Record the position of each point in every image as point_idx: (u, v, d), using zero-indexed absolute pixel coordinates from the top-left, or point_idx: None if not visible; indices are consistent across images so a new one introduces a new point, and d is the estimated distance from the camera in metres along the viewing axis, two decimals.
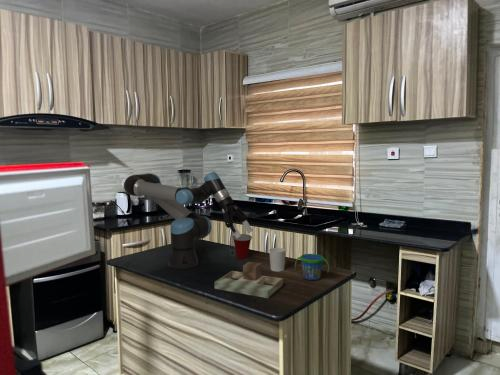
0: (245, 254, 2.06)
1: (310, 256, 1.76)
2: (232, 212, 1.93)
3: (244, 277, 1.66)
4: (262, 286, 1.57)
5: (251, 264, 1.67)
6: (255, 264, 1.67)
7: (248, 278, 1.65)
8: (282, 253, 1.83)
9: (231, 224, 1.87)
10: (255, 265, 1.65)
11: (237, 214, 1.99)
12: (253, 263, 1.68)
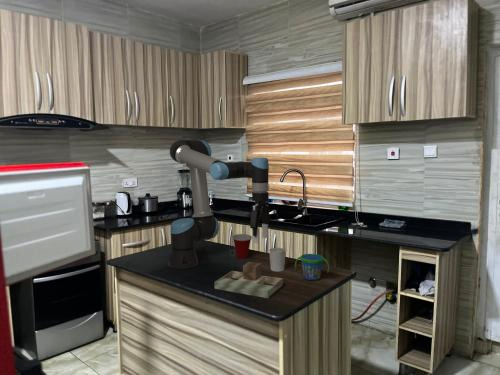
0: (245, 254, 2.06)
1: (310, 256, 1.76)
2: (262, 212, 1.70)
3: (244, 277, 1.66)
4: (262, 286, 1.57)
5: (251, 264, 1.67)
6: (255, 264, 1.67)
7: (248, 278, 1.65)
8: (282, 253, 1.83)
9: (256, 228, 1.67)
10: (255, 265, 1.65)
11: (263, 213, 1.75)
12: (253, 263, 1.68)
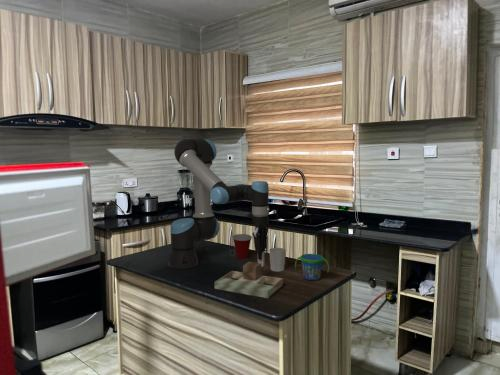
0: (245, 254, 2.06)
1: (310, 256, 1.76)
2: (263, 235, 1.72)
3: (244, 277, 1.66)
4: (262, 286, 1.57)
5: (251, 264, 1.67)
6: (255, 264, 1.67)
7: (248, 278, 1.65)
8: (282, 253, 1.83)
9: (261, 252, 1.72)
10: (255, 265, 1.65)
11: None
12: (253, 263, 1.68)
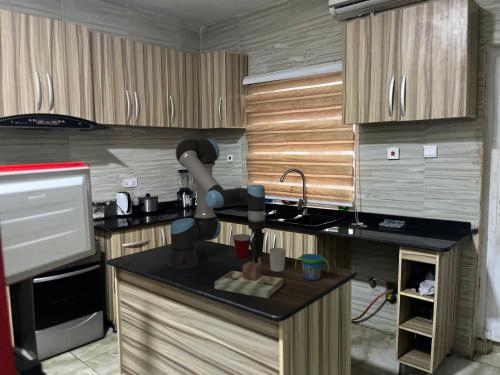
0: (245, 254, 2.06)
1: (310, 256, 1.76)
2: (259, 240, 1.68)
3: (244, 277, 1.65)
4: (262, 286, 1.57)
5: (251, 264, 1.67)
6: (255, 264, 1.66)
7: (248, 278, 1.64)
8: (282, 253, 1.83)
9: (257, 257, 1.69)
10: (255, 265, 1.65)
11: None
12: (253, 263, 1.68)
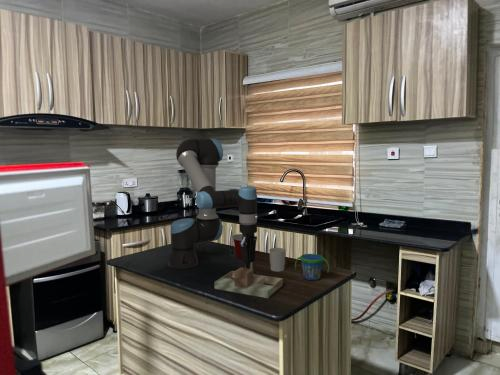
0: None
1: (310, 256, 1.76)
2: (251, 244, 1.61)
3: (235, 284, 1.57)
4: (262, 286, 1.57)
5: (242, 270, 1.59)
6: (247, 270, 1.59)
7: (239, 285, 1.57)
8: (282, 253, 1.83)
9: (249, 263, 1.61)
10: (247, 271, 1.57)
11: None
12: (245, 269, 1.60)
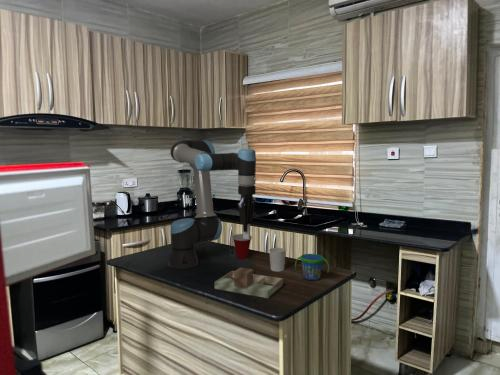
0: (245, 254, 2.06)
1: (310, 256, 1.76)
2: (249, 206, 1.63)
3: (235, 284, 1.57)
4: (262, 286, 1.57)
5: (242, 270, 1.59)
6: (247, 270, 1.59)
7: (239, 285, 1.57)
8: (282, 253, 1.83)
9: (246, 224, 1.64)
10: (247, 271, 1.57)
11: None
12: (245, 269, 1.60)
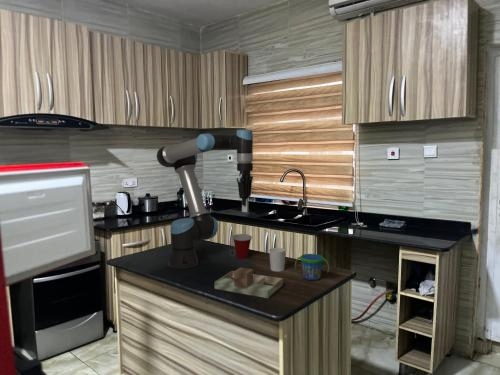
0: (245, 254, 2.06)
1: (310, 256, 1.76)
2: (247, 181, 1.79)
3: (235, 284, 1.57)
4: (262, 286, 1.57)
5: (242, 270, 1.59)
6: (247, 270, 1.59)
7: (239, 285, 1.57)
8: (282, 253, 1.83)
9: (245, 198, 1.79)
10: (247, 271, 1.57)
11: None
12: (245, 269, 1.60)
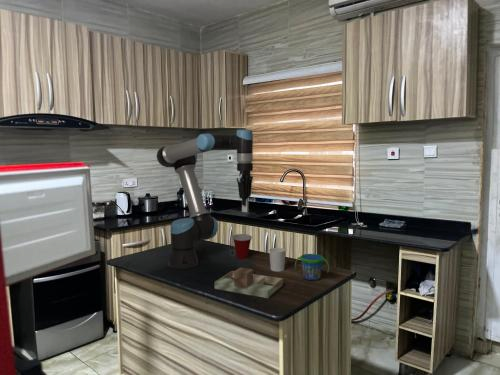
0: (245, 254, 2.06)
1: (310, 256, 1.76)
2: (247, 181, 1.79)
3: (235, 284, 1.57)
4: (262, 286, 1.57)
5: (242, 270, 1.59)
6: (247, 270, 1.59)
7: (239, 285, 1.57)
8: (282, 253, 1.83)
9: (245, 198, 1.79)
10: (247, 271, 1.57)
11: None
12: (245, 269, 1.60)
